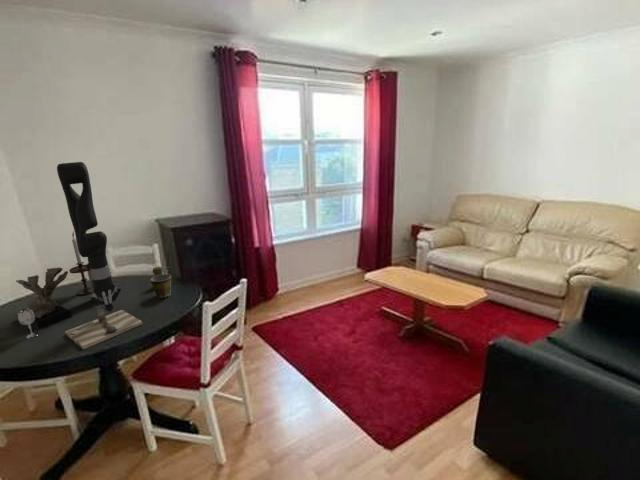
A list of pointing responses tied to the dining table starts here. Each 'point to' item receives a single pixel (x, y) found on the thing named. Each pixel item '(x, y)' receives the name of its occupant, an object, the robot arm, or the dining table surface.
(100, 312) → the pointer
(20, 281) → the coral
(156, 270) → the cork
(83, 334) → the board
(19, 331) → the dining table surface
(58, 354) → the dining table surface
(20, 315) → the wineglass
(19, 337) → the dining table surface
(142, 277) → the dining table surface
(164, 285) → the ceramic cup
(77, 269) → the candlestick
